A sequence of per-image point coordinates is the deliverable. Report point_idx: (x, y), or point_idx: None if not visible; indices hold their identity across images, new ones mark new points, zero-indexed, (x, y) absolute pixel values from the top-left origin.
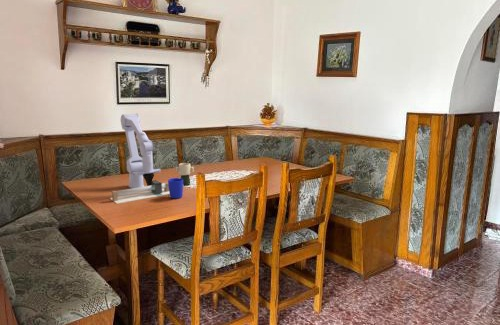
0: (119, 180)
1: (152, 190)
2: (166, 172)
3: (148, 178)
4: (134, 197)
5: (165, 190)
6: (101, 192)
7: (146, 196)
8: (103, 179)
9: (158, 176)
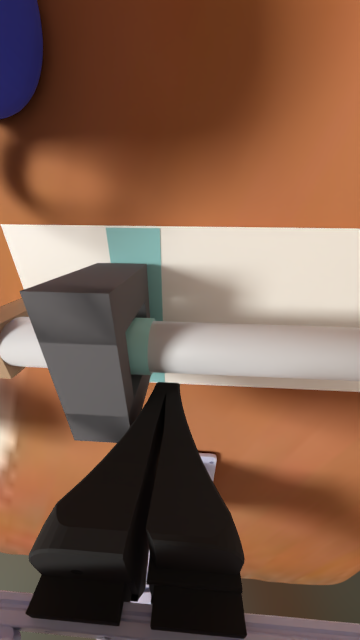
0: None
1: None
2: (12, 536)
3: (176, 472)
4: (332, 305)
5: None
6: (356, 486)
7: (244, 270)
8: None
9: None
